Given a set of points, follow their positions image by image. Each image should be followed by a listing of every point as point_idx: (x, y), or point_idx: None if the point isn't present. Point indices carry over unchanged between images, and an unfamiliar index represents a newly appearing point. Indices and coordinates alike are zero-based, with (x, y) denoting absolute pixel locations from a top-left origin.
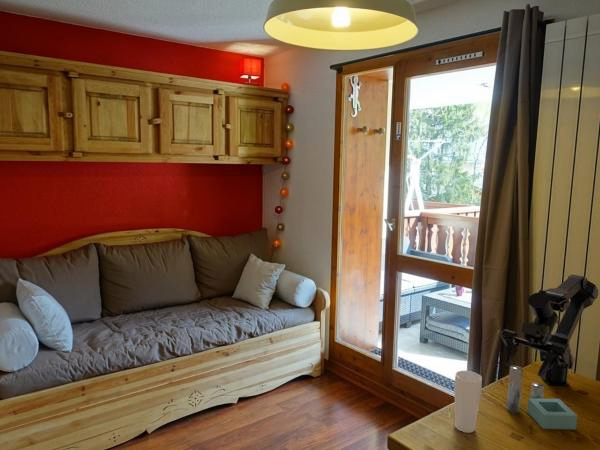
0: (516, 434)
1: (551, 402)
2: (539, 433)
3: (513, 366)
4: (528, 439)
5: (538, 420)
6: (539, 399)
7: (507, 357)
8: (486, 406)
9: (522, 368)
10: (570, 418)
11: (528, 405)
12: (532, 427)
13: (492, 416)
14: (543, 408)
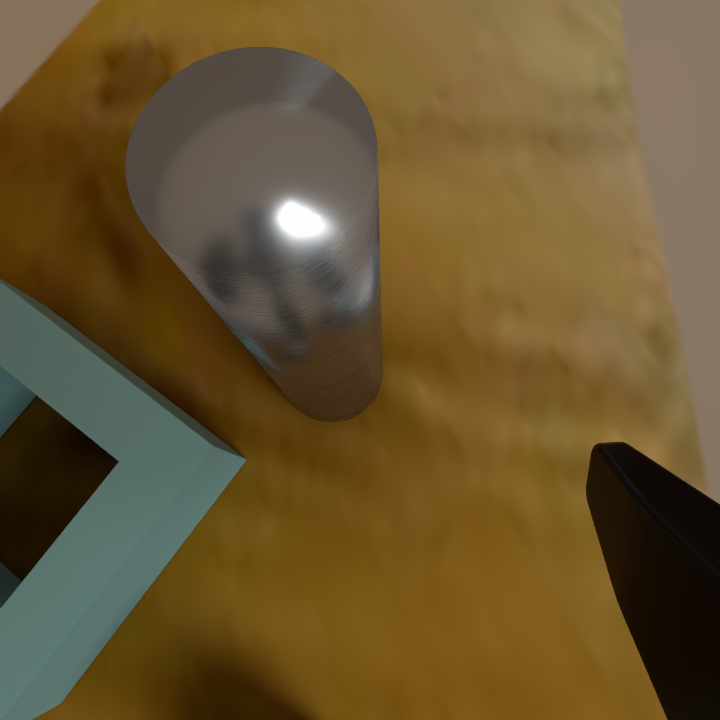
0: (145, 95)
1: (19, 590)
2: (44, 231)
3: (326, 167)
4: (67, 107)
5: (91, 343)
6: (125, 528)
7: (714, 509)
8: (491, 246)
9: (157, 234)
10: None
11: (219, 443)
12: (110, 262)
13: None
14: (24, 372)
